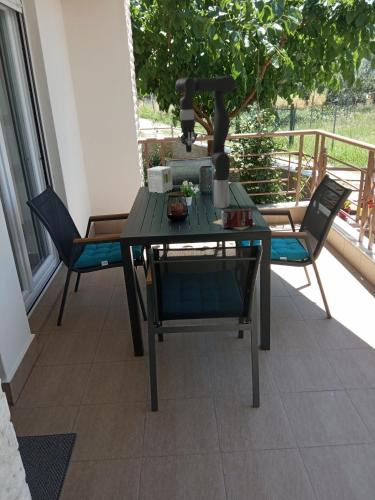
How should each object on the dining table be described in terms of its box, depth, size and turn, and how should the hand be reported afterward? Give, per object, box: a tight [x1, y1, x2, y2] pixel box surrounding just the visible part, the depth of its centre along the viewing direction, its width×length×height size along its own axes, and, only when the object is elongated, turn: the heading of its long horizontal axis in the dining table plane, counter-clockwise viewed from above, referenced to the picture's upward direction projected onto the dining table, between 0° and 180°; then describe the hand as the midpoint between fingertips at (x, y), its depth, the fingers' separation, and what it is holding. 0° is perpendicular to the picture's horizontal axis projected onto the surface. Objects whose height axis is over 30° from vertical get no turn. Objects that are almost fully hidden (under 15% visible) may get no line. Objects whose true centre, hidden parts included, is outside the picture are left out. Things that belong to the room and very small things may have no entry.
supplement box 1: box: [147, 165, 174, 194], centre depth 293 cm, size 13×13×18 cm
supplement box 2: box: [220, 207, 254, 229], centre depth 203 cm, size 9×5×16 cm
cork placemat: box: [212, 218, 256, 231], centre depth 210 cm, size 12×20×1 cm, turn 44°
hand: (188, 152), depth 212 cm, fingers closed
